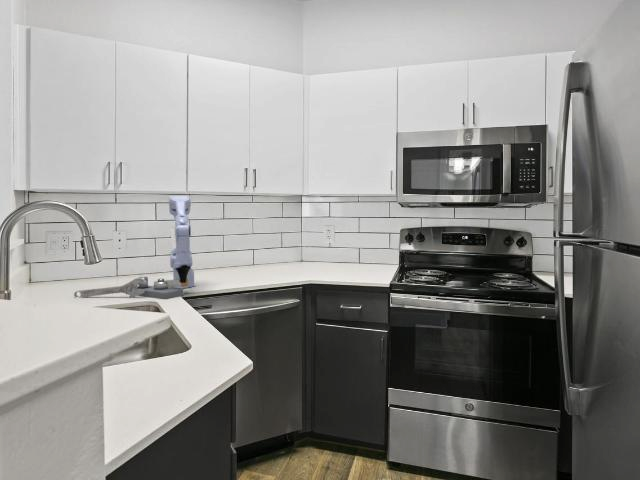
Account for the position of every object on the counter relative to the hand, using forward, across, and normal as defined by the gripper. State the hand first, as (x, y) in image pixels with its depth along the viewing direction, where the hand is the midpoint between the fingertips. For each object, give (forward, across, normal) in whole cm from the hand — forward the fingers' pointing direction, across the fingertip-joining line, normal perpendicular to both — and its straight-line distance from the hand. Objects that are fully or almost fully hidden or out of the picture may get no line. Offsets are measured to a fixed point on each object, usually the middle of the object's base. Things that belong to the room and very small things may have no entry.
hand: (183, 282), depth 206 cm
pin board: (+5, +6, -11) cm, 13 cm away
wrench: (+5, +15, -25) cm, 30 cm away
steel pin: (+5, +3, -17) cm, 18 cm away
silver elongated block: (+2, +2, -5) cm, 6 cm away
